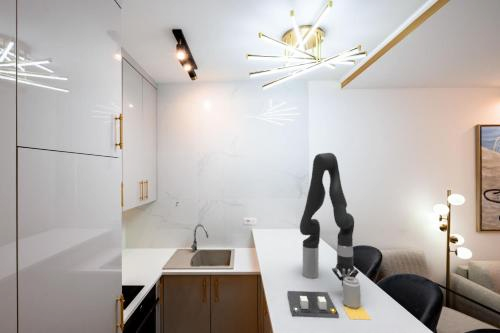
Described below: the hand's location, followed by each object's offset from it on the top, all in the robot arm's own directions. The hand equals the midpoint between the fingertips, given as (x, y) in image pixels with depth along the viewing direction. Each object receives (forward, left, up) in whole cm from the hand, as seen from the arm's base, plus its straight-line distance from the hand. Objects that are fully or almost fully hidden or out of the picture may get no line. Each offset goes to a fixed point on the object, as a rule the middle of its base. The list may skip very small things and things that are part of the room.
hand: (345, 288), depth 118 cm
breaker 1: (+13, -23, -2) cm, 26 cm away
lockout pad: (+13, 0, -4) cm, 14 cm away
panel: (+8, -19, -4) cm, 21 cm away
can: (+7, 0, -4) cm, 8 cm away
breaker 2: (+13, -15, -2) cm, 20 cm away
